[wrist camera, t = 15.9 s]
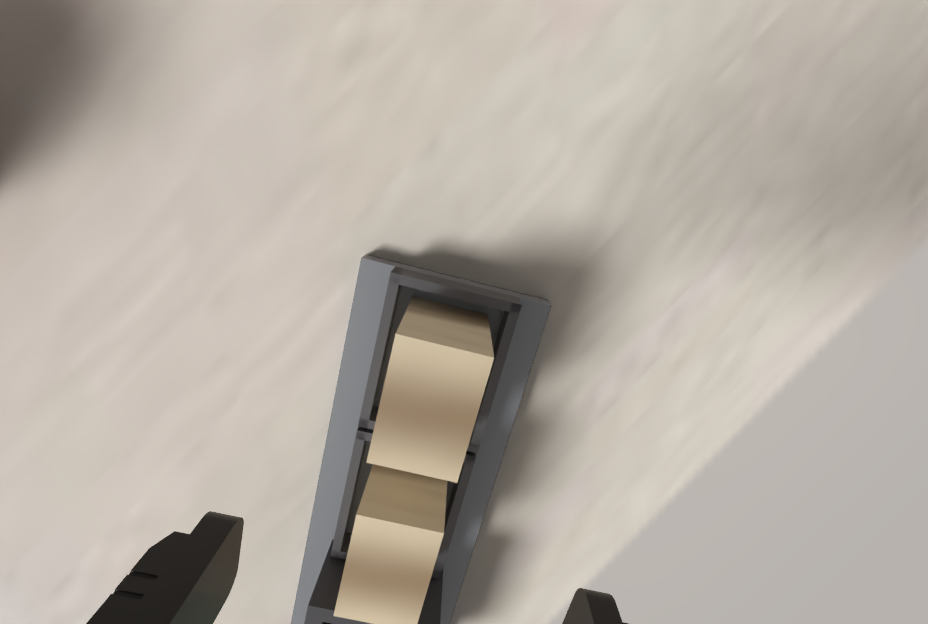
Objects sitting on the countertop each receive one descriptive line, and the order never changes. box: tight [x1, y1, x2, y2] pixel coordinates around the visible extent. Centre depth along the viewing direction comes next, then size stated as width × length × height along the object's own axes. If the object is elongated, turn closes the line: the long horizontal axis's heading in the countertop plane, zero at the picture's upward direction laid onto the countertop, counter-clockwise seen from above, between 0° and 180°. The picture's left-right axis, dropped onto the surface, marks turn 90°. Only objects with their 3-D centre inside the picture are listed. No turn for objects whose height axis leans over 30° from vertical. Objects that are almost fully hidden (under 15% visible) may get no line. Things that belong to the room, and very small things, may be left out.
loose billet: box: [366, 296, 494, 483], centre depth 22 cm, size 6×4×6 cm, turn 166°
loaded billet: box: [333, 464, 447, 624], centre depth 24 cm, size 6×4×6 cm, turn 166°
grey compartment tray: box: [291, 255, 551, 624], centre depth 25 cm, size 25×10×6 cm, turn 166°
